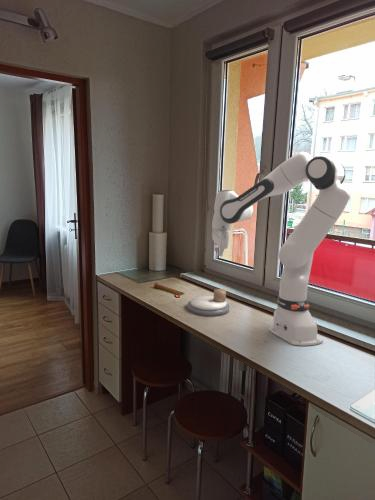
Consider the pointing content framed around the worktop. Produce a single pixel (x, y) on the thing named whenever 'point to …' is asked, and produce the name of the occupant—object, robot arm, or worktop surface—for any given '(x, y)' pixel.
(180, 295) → the primitive tool
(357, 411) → the worktop surface
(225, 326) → the worktop surface
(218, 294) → the dial
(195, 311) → the base
